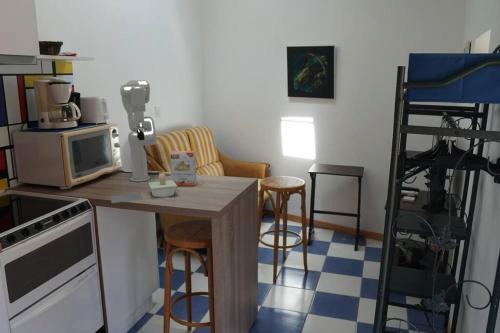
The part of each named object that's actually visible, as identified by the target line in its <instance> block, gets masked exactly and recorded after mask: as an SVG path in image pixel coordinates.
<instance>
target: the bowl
mask: <svg viewBox="0 0 500 333" xmlns="http://www.w3.org/2000/svg"><path fill="white" fill-rule="evenodd" d="M151 195H152V196H153V197H155V198H164V197H165V198H166V197H172V196H174V195H175V188H169V189H160V190H151Z"/></svg>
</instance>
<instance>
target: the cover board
mask: <svg viewBox="0 0 500 333" xmlns="http://www.w3.org/2000/svg"><path fill="white" fill-rule="evenodd" d="M158 180H159V181H152V182H148V185H149V189H151V190H150V191H152V190H160V189H169V188H174V189H178V186H177V185H176V184H175V182H174V181H173V180H172V179H170V180H166V173H164V172H162V173H159V174H158Z"/></svg>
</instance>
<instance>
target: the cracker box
mask: <svg viewBox="0 0 500 333" xmlns="http://www.w3.org/2000/svg"><path fill="white" fill-rule="evenodd" d="M170 165H171V166H170V167H171V171H170V172H171V180H173V181H174V182H175V184H176V185H177V187H195V186H196V185H197V162H196V151H195V150H192V151H191V150H190V151H189V150H186V151H185V150H172V151H171V152H170Z"/></svg>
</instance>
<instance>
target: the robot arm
mask: <svg viewBox="0 0 500 333" xmlns="http://www.w3.org/2000/svg"><path fill="white" fill-rule="evenodd" d="M150 93H151V87H150V83H149V81H147V80H144V79H143V80H141V79H140V80H139V79H137V80H134V79H133V80H129V81H128V82H127V83H126V84H121V86H120V96H121V102H122V105H123V108H124V110H125V112H126V114H127V120H128V121H127V122H128V126H129V130H130V132H129V133H128V135H127V139H128V144H129V150H130V151H129V152H130V159H131V173H132V174H131V175H132V176H131V177H130V178H129V179H130V181H131V182H145V181H149V180H151V176H149V173H148V162H147V151H146V150H145V149H144V148H143V146H152V145H153V146H154V145H156V143H157V140H158V139H157V133H156V132H157V130H156V126H155V121H154V119H153V118H152V116H147V115H146V116H144V115H145V114H144V112H146V110H147V109H146V104H148V103H149V102H150V96H151V94H150Z"/></svg>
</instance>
